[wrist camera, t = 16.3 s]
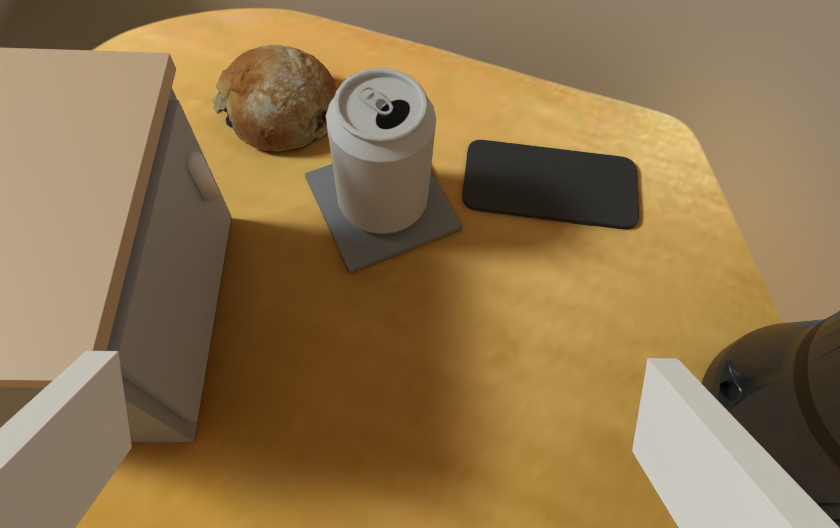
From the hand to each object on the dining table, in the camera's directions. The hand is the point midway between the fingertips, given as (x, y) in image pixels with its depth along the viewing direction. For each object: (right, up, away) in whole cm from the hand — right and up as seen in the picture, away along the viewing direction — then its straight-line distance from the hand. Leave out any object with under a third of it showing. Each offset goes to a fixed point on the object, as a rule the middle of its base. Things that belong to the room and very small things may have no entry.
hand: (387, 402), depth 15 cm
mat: (-2, +9, +35) cm, 36 cm away
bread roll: (-12, +17, +40) cm, 45 cm away
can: (-2, +9, +35) cm, 36 cm away
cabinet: (-21, -1, +30) cm, 36 cm away
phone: (+12, +10, +37) cm, 41 cm away
